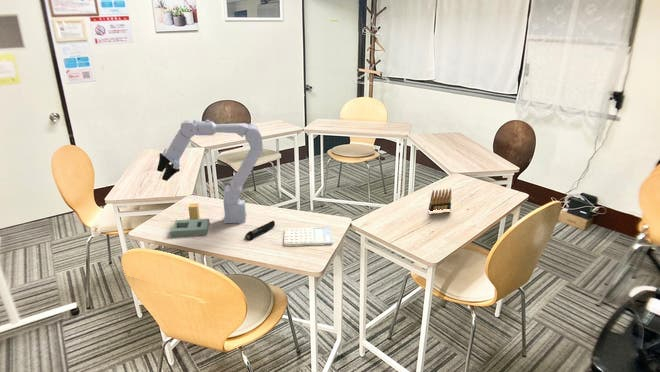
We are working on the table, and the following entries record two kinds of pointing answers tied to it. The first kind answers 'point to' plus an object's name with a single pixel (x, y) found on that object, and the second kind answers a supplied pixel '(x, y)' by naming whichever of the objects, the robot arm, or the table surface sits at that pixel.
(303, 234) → the calculator
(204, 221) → the socket plate
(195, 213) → the square peg
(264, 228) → the electric trimmer
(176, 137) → the robot arm
